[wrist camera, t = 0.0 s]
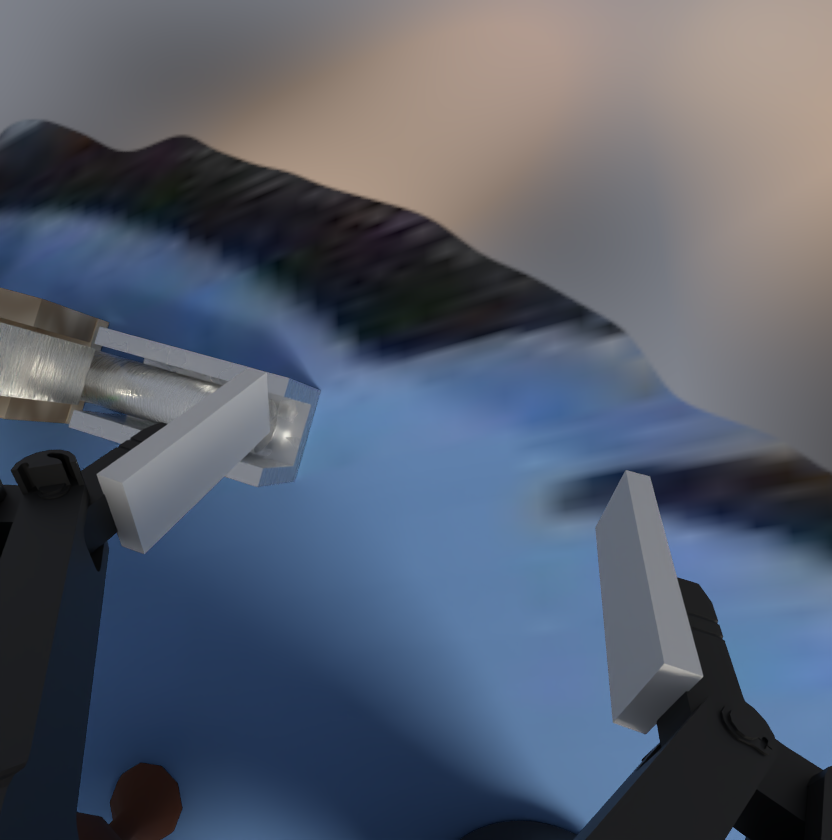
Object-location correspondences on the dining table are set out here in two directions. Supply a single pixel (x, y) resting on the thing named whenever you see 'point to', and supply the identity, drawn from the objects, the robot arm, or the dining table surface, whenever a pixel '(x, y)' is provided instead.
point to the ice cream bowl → (137, 807)
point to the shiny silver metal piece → (98, 379)
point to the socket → (53, 323)
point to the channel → (288, 394)
